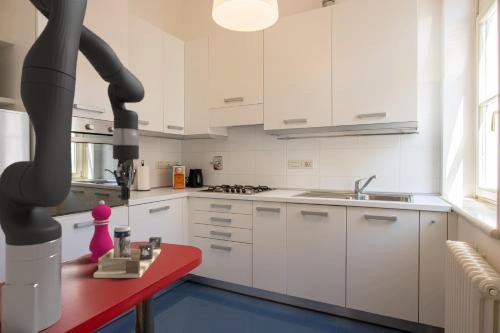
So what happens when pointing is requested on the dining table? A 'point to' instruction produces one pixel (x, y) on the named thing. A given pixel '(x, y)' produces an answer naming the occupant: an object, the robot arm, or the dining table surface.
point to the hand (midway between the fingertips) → (125, 199)
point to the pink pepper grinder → (100, 232)
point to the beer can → (122, 241)
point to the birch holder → (126, 263)
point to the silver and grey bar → (156, 243)
